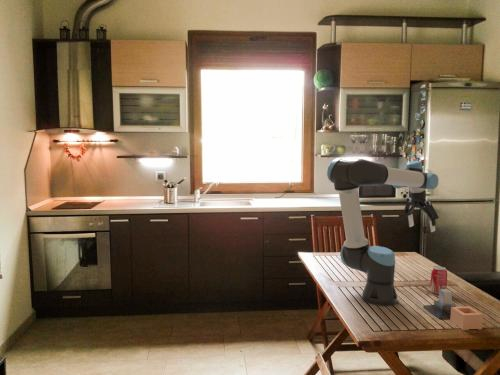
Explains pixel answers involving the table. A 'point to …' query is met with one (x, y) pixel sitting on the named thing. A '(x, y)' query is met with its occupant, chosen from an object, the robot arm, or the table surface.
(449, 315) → the post stand
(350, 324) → the table surface
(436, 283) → the soda can
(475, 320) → the collar
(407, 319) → the table surface
